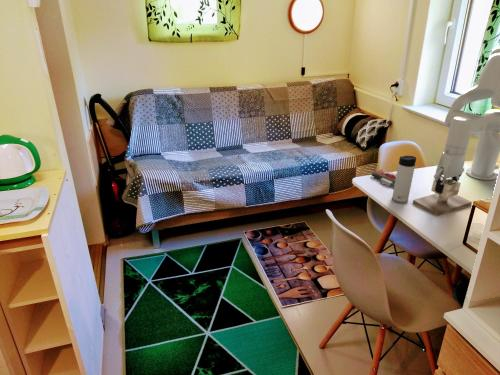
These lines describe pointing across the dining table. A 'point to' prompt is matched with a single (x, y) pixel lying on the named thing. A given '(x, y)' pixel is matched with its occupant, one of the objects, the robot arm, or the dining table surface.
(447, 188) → the wooden nightstand
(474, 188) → the dining table surface
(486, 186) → the dining table surface
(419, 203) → the board
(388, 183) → the walkie-talkie
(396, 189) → the travel mug
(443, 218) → the dining table surface
